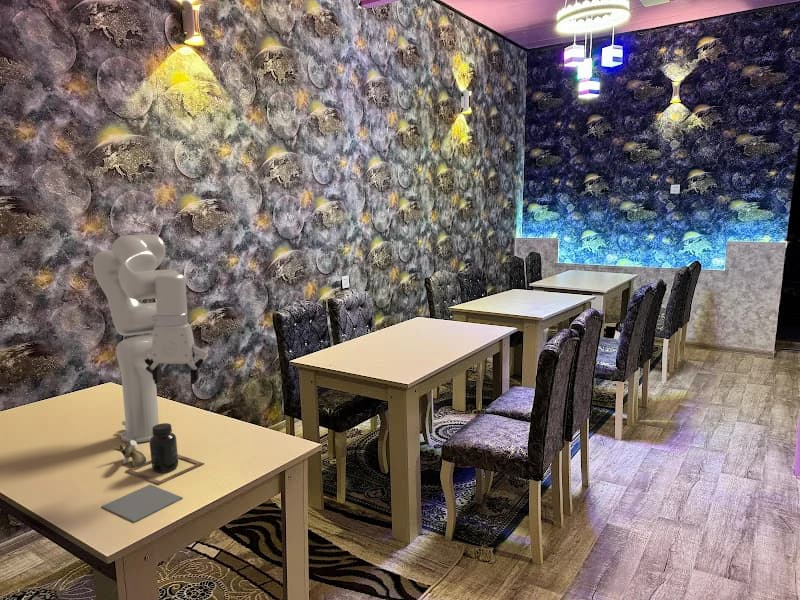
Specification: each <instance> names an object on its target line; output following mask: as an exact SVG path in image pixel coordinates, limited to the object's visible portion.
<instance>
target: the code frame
mask: <svg viewBox="0 0 800 600" xmlns="http://www.w3.org/2000/svg"><path fill="white" fill-rule="evenodd" d="M179 459H180V460H182V461H186V462H188V463H191V464H194V465H192V466H190V467H188V468H185V469H183V470H181V471H178V472H177V473H174V474H172V475H170V476H168V477H166V478H165V477H164V478H163V479H161V480H159V479H156V478H153V477H150V476H148V475H145V474H143V473H141V472H137V471H135V470H138V469H141V468H143V467H145V466H147V465H150V464H152V463H151V459H150V460H149V461H146V462H145V463H144V464H143V465H142V466H139V467H137V466H136V467H135V466H132V467H131V468H128V469H125V470H124V471H125V473H127V472H128V473H127V474H130V475H132V474H133V476H135V477H137V476H138V478H140V477H141V478H140V479H142V478H143V479H142V480H145V481H147V480H148V481H147V482H150V481H151V482H150V483H152V482H153V484H155V485H157V486H160V485H161V484H164V483H166V482H168V481H171V480H173V479H175V478H177V477H179V476H181V475H184V474H186V473H187V472H191V471H192V470H194V469H196V468H199V467H202V466H204V465H205V463H204V462H202V461H199V460H196V459H193V458H189V457H187V456H183V455H181V454H178V460H179ZM203 464H204V465H203ZM133 470H134V471H133ZM175 470H177V467H176V468H175V469H173V470H171V471H168V472H167V473H170V472H172V471H175Z"/></svg>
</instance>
